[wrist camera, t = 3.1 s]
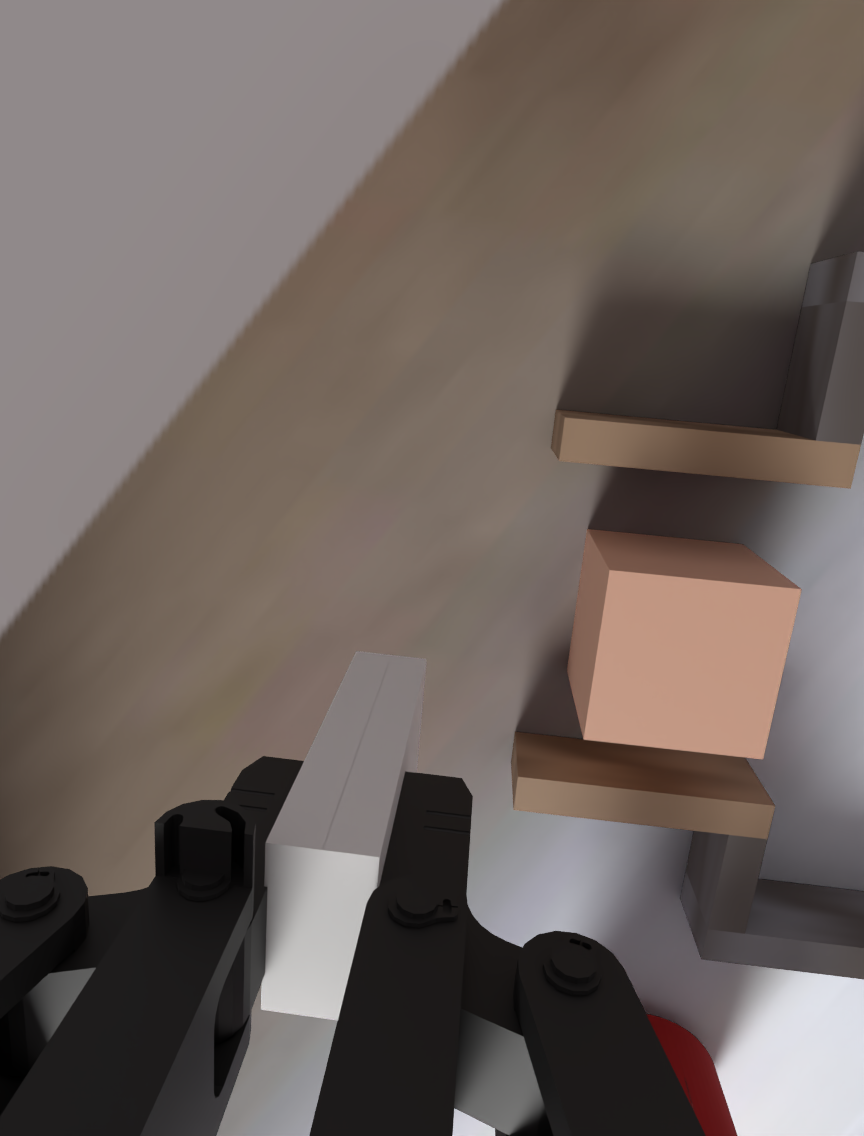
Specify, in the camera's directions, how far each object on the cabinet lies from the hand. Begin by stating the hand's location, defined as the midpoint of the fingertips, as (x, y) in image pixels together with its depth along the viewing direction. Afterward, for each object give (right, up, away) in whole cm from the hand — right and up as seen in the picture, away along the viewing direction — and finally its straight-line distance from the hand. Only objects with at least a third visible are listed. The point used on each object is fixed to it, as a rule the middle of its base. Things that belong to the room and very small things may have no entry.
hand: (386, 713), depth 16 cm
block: (+8, +2, +9) cm, 13 cm away
